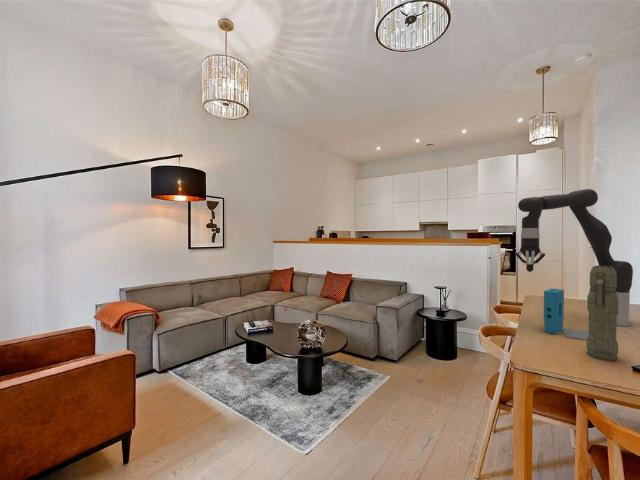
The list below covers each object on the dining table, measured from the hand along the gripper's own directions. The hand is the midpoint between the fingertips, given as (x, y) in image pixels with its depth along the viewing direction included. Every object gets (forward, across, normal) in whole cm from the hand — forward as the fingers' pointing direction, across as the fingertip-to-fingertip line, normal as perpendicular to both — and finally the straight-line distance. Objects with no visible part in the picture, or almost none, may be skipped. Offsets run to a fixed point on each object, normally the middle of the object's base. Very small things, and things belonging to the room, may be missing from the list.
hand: (529, 271), depth 149 cm
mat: (+28, -21, 0) cm, 36 cm away
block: (+29, -10, 0) cm, 30 cm away
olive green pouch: (+29, -22, +27) cm, 45 cm away
